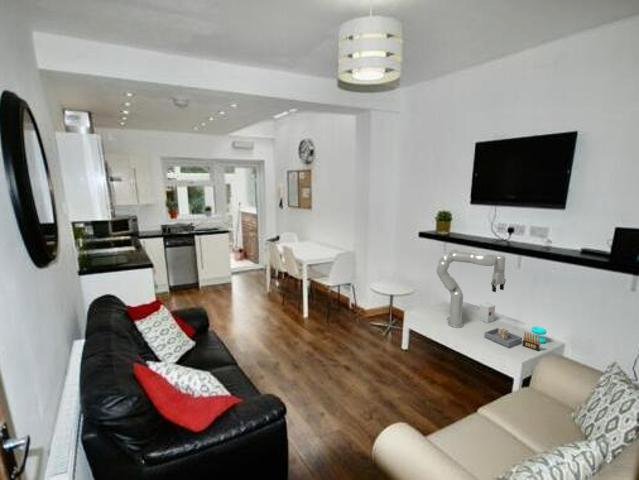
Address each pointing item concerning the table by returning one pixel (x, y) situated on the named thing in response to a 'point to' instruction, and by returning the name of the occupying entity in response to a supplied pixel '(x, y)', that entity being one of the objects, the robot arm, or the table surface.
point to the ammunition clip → (531, 341)
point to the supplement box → (487, 312)
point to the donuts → (539, 333)
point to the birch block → (503, 333)
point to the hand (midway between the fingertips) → (497, 290)
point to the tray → (508, 343)
